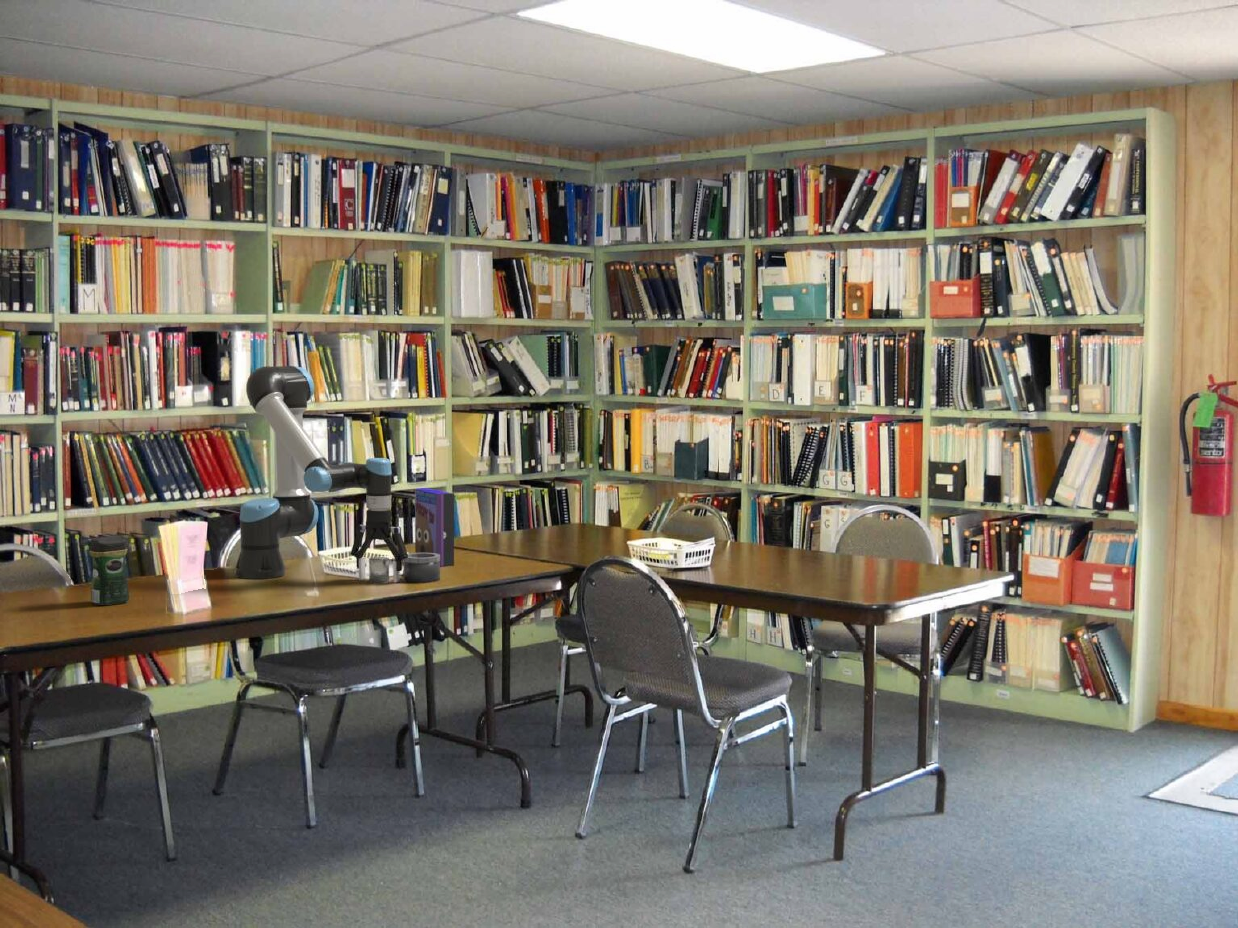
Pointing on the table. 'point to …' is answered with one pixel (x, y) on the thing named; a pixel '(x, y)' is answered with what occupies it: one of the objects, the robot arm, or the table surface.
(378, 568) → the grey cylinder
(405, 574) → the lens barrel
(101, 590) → the coffee jar
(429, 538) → the cereal box
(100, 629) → the table surface
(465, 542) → the table surface
